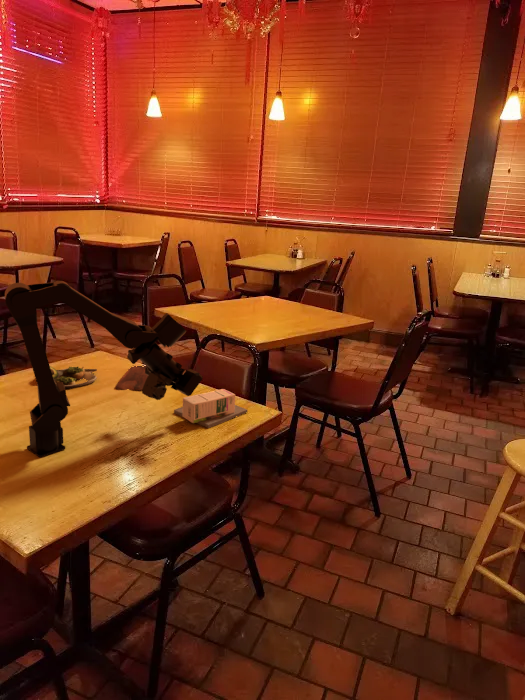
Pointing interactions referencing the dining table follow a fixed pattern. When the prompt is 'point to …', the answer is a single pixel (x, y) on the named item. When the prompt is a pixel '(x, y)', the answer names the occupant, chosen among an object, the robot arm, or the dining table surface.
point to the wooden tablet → (133, 379)
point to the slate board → (217, 420)
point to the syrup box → (208, 405)
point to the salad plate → (73, 376)
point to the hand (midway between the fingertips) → (190, 391)
